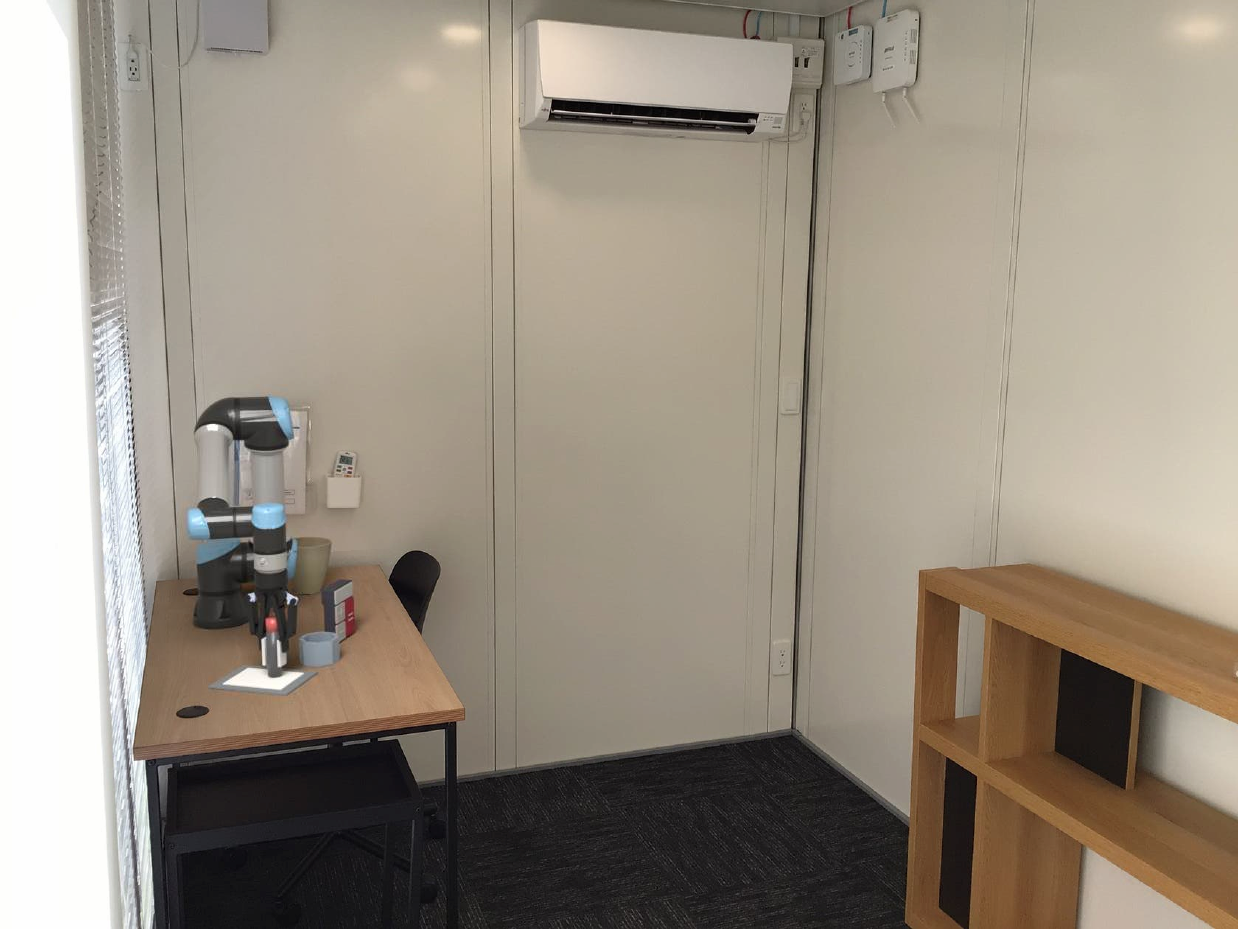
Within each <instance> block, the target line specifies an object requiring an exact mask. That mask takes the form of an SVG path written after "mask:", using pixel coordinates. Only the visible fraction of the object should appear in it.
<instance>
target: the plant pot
mask: <svg viewBox="0 0 1238 929" xmlns="http://www.w3.org/2000/svg"><path fill="white" fill-rule="evenodd" d="M292 539H296V540H297V553H296V554H297V559H296V567H295V573H294V576H293V577H292V578H291V579H289V580H290V583H291V585H292V587H293V589H294V592H295V593H296V594H297V595H301V594H310V595H315V593H316V594H318V593H320V592H321V590H322V586H323V583H324V581H325V578H326V575H327V571H328V567H329V562H330V557H331V550H332V543H333V542H332V539H330V538H327V537H321V536H302V537H301V536H300V537H292ZM319 591H320V592H319ZM317 592H318V593H317Z"/></svg>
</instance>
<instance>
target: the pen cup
mask: <svg viewBox="0 0 1238 929" xmlns="http://www.w3.org/2000/svg"><path fill="white" fill-rule="evenodd" d="M298 650H299V651H298V653H299V657H298V658H299V662H300V663H301V664H302V665H303V666H305V667H312V668H313V667H314V668H320V667H325V666H330V665H331V666H332V665H334V664H335V663H337V662H338V661H340V660H341V659H340V656H341V655H340V642H339V636H338V635H336V634H335V633H333V632H325V631H316V632H308V633H305V634H304V635H302V636H300V637H299V638H298Z"/></svg>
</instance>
